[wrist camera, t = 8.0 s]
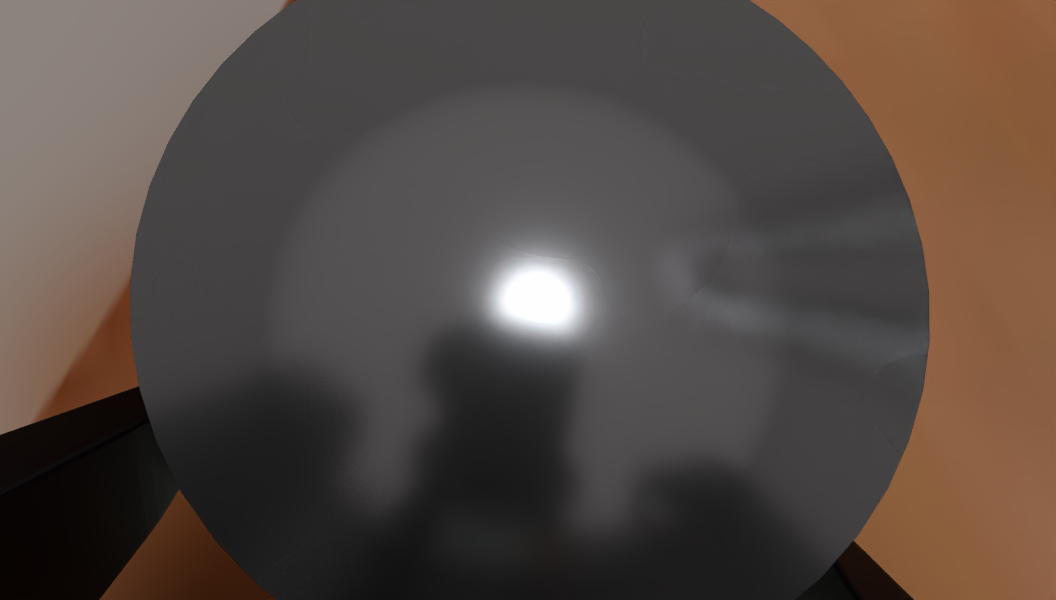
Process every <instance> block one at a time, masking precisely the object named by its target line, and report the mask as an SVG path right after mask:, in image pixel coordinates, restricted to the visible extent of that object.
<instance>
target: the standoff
mask: <svg viewBox="0 0 1056 600" xmlns="http://www.w3.org/2000/svg"><path fill="white" fill-rule="evenodd" d="M130 314H131V340H132V346H133V352H134V358H135V364H136V370H137V377H138V383H139V389H140V392H141V395H142V398H143V401H144V404H145V408H146V411H147V414H148V417H149V420H150V423H151V426H152V429H153V432H154V435H155V439H156V442H157V444H158V446H159V448H160V450H161V452H162V454H163V456H164V458H165V460H166V462H167V464H168V466H169V468H170V470H171V472H172V474H173V476H174V478H175V480H176V482H177V484H178V486H179V488H180V490H181V492H182V494H183V495H184V496H185V498H186V499H187V501H188V502H189V504H190V505H191V506H192V508H193V509H194V511H195V512H196V513H197V515H198V516H199V518H200V519H201V521H202V522H203V523H204V525H205V526H206V528H207V529H208V531H209V532H210V533H211V535H212V536H213V538H214V539H215V541H216V542H217V543H218V544H219V545H220V546H221V547H222V548H223V549H224V550H225V551H226V552H227V553H228V554H229V555H230V556H231V557H232V558H233V559H234V560H235V561H236V562H237V564H238V565H239V566H240V567H241V568H242V569H243V570H244V571H245V572H246V573H247V574H248V575H249V576H250V577H251V578H252V579H253V580H254V581H255V582H256V583H257V584H258V585H259V586H260V587H262V588H263V589H264V590H265V591H267V592H268V593H269V594H271V595H272V596H273V597H275V598H276V599H277V600H795V599H796V598H797V597H799V596H800V595H801V594H802V593H803V592H804V591H806V590H807V589H808V588H809V587H810V586H812V585H813V584H814V583H815V582H816V581H817V580H819V579H820V578H821V577H822V576H823V575H824V574H825V572H826V571H827V570H828V569H829V568H830V567H831V566H832V564H833V563H834V562H835V561H836V560H837V559H838V558H839V556H840V555H841V554H842V553H843V552H844V551H845V550H846V548H847V547H848V546H849V545H850V544H851V543H852V541H853V540H854V539H855V538H856V537H857V536H858V535H859V533H860V531H861V530H862V528H863V527H864V525H865V524H866V522H867V520H868V519H869V517H870V516H871V514H872V513H873V511H874V509H875V508H876V506H877V505H878V503H879V502H880V500H881V498H882V497H883V495H884V494H885V492H886V491H887V489H888V487H889V485H890V482H891V480H892V478H893V476H894V473H895V471H896V469H897V467H898V464H899V462H900V460H901V458H902V455H903V453H904V451H905V449H906V446H907V444H908V442H909V439H910V435H911V432H912V428H913V425H914V421H915V418H916V414H917V410H918V407H919V403H920V400H921V396H922V392H923V387H924V379H925V371H926V364H927V356H928V348H929V289H928V282H927V275H926V268H925V261H924V254H923V247H922V242H921V239H920V235H919V232H918V228H917V225H916V221H915V217H914V214H913V210H912V207H911V203H910V200H909V197H908V195H907V192H906V190H905V188H904V185H903V183H902V181H901V178H900V176H899V174H898V171H897V169H896V166H895V164H894V162H893V159H892V157H891V155H890V153H889V152H888V150H887V148H886V146H885V145H884V143H883V141H882V139H881V138H880V136H879V134H878V132H877V131H876V129H875V127H874V126H873V124H872V122H871V120H870V119H869V117H868V116H867V114H866V113H865V112H864V110H863V109H862V107H861V106H860V105H859V103H858V102H857V101H856V99H855V98H854V97H853V95H852V94H851V93H850V91H849V90H848V89H847V87H846V86H845V85H844V83H843V82H842V81H841V80H840V79H839V77H838V76H837V75H836V74H835V73H834V72H833V71H832V70H831V69H830V68H829V67H828V66H827V65H826V64H825V62H824V61H823V60H822V59H821V58H820V57H819V56H818V55H817V54H816V53H815V52H814V51H813V50H812V49H811V48H810V47H809V46H808V45H807V44H806V43H804V42H803V41H802V40H801V39H800V38H799V37H797V36H796V35H795V34H794V33H793V32H792V31H790V30H789V29H788V28H787V27H786V26H785V25H783V24H782V23H781V22H780V21H779V20H777V19H776V18H775V17H773V16H772V15H770V14H769V13H767V12H766V11H764V10H763V9H761V8H760V7H759V6H757V5H756V4H754V3H753V2H751V1H750V0H296V1H294V2H293V3H291V4H290V5H288V6H287V7H286V8H284V9H283V10H282V11H281V12H279V13H278V14H277V15H275V16H274V17H273V18H272V19H271V20H269V21H268V22H266V23H265V24H264V25H263V26H262V27H260V28H259V29H257V30H256V31H255V32H254V33H253V34H252V35H251V36H250V37H249V38H248V39H247V40H246V41H245V42H244V43H243V44H242V45H241V46H240V47H239V48H238V49H237V50H236V51H235V52H234V53H233V54H232V55H231V56H230V57H229V58H228V59H227V60H226V61H225V62H223V64H222V65H221V66H220V67H219V68H218V70H217V71H216V72H215V73H214V75H213V76H212V77H211V79H210V80H209V81H208V82H207V84H206V85H205V86H204V87H203V89H202V90H201V91H200V93H199V94H198V95H197V96H196V98H195V99H194V100H193V102H192V103H191V105H190V107H189V109H188V110H187V112H186V113H185V115H184V117H183V118H182V120H181V122H180V124H179V125H178V127H177V128H176V130H175V132H174V134H173V135H172V137H171V139H170V140H169V142H168V144H167V147H166V149H165V151H164V154H163V156H162V158H161V161H160V163H159V165H158V168H157V170H156V172H155V175H154V177H153V179H152V182H151V184H150V187H149V190H148V194H147V197H146V201H145V205H144V208H143V212H142V216H141V219H140V223H139V227H138V230H137V234H136V241H135V250H134V257H133V265H132V272H131V280H130Z"/></svg>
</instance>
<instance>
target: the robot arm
mask: <svg viewBox="0 0 1056 600" xmlns="http://www.w3.org/2000/svg"><path fill="white" fill-rule="evenodd" d="M179 489H180V488H179V486H178V484H177V482H176V480H175V478H174V476H173V474H172V472H171V470H170V468H169V466H168V464H167V462H166V460H165V458H164V456H163V454H162V452H161V450H160V448H159V446H158V444H157V442H156V439H155V435H154V432H153V429H152V426H151V423H150V420H149V417H148V414H147V411H146V408H145V404H144V401H143V398H142V395H141V392H140V389H139V386H138V387H135V388H132V389H130V390H127V391H124V392H121V393H118V394H115V395H113V396H110V397H107V398H104V399H101V400H98V401H95V402H93V403H90V404H87V405H84V406H81V407H78V408H75V409H73V410H70V411H67V412H64V413H61V414H58V415H56V416H53V417H50V418H47V419H44V420H41V421H38V422H36V423H33V424H30V425H27V426H24V427H21V428H19V429H16V430H13V431H10V432H7V433H4V434H1V435H0V600H99V599H100V598H101V597H102V595H103V594H104V593H105V592H106V590H107V589H108V588H109V586H110V585H111V584H112V582H113V581H114V580H115V579H116V577H117V576H118V575H119V573H120V572H121V571H122V569H123V568H124V567H125V565H126V564H127V563H128V562H129V560H130V559H131V558H132V556H133V555H134V554H135V552H136V551H137V550H138V549H139V547H140V546H141V545H142V543H143V542H144V541H145V539H146V538H147V537H148V536H149V534H150V533H151V531H152V530H153V529H154V527H155V526H156V525H157V523H158V522H159V520H160V519H161V517H162V516H163V514H164V513H165V511H166V510H167V508H168V507H169V505H170V503H171V502H172V500H173V499H174V497H175V495H176V494H177V492H178V490H179ZM795 600H914V599H913V598H912V597H911V596H910V595H909V594H908V593H907V592H906V591H905V590H904V589H902V588H901V587H900V586H899V585H898V584H897V583H896V582H895V581H894V580H893V579H892V578H891V577H890V576H889V575H888V574H887V573H886V572H885V571H884V570H883V569H882V568H881V567H880V566H879V565H878V564H877V563H876V562H875V561H874V560H873V559H872V558H871V557H870V556H869V555H868V554H867V553H866V552H865V551H864V550H863V549H862V548H861V547H860V546H859V545H858V544H857V543H856V542H854V541H852V543H851V544H850V545H849V546H848V547H847V548H846V550H845V551H844V552H843V553H842V554H841V555H840V556H839V558H838V559H837V560H836V561H835V562H834V563H833V564H832V566H831V567H830V568H829V569H828V570H827V571H826V572H825V574H824V575H823V576H822V577H821V578H820V579H819V580H817V581H816V582H815V583H814V584H813V585H812V586H810V587H809V588H808V589H807V590H806V591H804V592H803V593H802V594H801V595H800V596H799V597H797V598H796V599H795Z"/></svg>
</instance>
